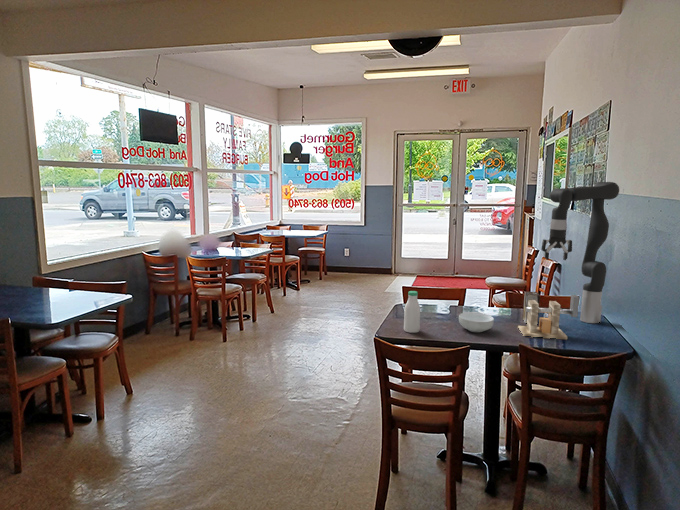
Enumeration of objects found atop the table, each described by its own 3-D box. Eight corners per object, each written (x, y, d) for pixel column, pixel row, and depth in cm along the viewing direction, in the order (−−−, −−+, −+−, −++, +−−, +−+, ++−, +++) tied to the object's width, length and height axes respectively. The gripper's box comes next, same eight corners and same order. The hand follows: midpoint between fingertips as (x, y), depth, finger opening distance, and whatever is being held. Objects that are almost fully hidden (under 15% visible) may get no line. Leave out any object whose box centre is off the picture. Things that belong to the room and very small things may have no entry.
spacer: (547, 329, 246) (548, 317, 245) (550, 333, 240) (551, 321, 239) (538, 329, 246) (539, 317, 245) (541, 332, 240) (542, 320, 239)
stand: (558, 330, 249) (561, 300, 246) (567, 339, 235) (570, 307, 233) (517, 328, 252) (520, 298, 249) (523, 336, 238) (526, 304, 235)
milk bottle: (421, 332, 241) (423, 293, 238) (406, 333, 240) (407, 293, 237) (416, 328, 249) (418, 289, 246) (401, 328, 248) (403, 290, 245)
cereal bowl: (455, 332, 243) (456, 318, 242) (460, 323, 259) (461, 310, 258) (491, 337, 237) (492, 322, 236) (494, 327, 252) (495, 314, 251)
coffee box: (538, 325, 258) (540, 295, 256) (525, 324, 259) (527, 294, 257) (534, 320, 267) (537, 291, 264) (522, 319, 268) (524, 290, 266)
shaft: (574, 314, 242) (576, 295, 240) (577, 317, 238) (579, 297, 236) (525, 312, 245) (526, 292, 244) (527, 314, 241) (529, 294, 239)
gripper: (570, 227, 252) (567, 259, 254) (541, 227, 253) (539, 258, 256) (575, 229, 244) (572, 261, 247) (545, 228, 246) (543, 260, 248)
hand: (555, 259), depth 251 cm, fingers open, 8 cm apart
